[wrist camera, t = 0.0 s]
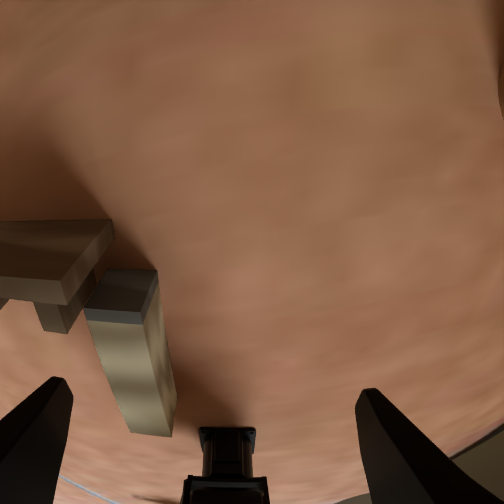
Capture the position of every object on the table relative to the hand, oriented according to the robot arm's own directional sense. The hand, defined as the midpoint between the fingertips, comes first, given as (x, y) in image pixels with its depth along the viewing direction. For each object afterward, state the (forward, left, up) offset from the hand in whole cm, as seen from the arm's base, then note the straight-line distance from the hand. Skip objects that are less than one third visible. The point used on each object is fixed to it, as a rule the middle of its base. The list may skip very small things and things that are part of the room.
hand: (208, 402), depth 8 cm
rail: (-12, +7, -14) cm, 20 cm away
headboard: (-3, +15, -14) cm, 21 cm away
